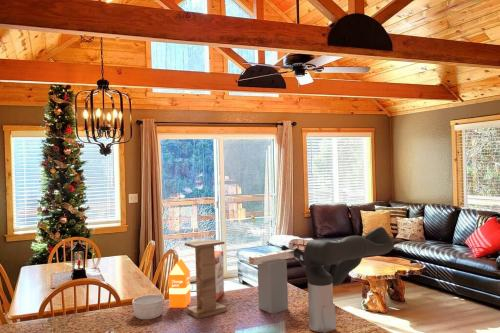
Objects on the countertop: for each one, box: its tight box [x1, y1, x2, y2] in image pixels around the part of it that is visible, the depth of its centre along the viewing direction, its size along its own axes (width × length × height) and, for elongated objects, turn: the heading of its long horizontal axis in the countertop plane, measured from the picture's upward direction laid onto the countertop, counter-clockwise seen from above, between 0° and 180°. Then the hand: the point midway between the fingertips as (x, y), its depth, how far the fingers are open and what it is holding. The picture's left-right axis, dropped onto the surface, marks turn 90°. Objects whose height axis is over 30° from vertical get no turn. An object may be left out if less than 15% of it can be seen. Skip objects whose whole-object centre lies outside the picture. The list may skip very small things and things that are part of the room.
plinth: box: [257, 259, 289, 314], centre depth 189 cm, size 9×9×21 cm
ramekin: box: [131, 294, 165, 320], centre depth 186 cm, size 13×13×7 cm
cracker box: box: [214, 250, 225, 302], centre depth 209 cm, size 14×6×21 cm, turn 168°
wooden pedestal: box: [184, 238, 228, 320], centre depth 187 cm, size 10×14×30 cm
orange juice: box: [168, 258, 192, 308], centre depth 199 cm, size 8×9×20 cm
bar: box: [248, 249, 294, 266], centre depth 189 cm, size 4×22×3 cm, turn 126°
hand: (288, 248), depth 194 cm, fingers open, 8 cm apart
